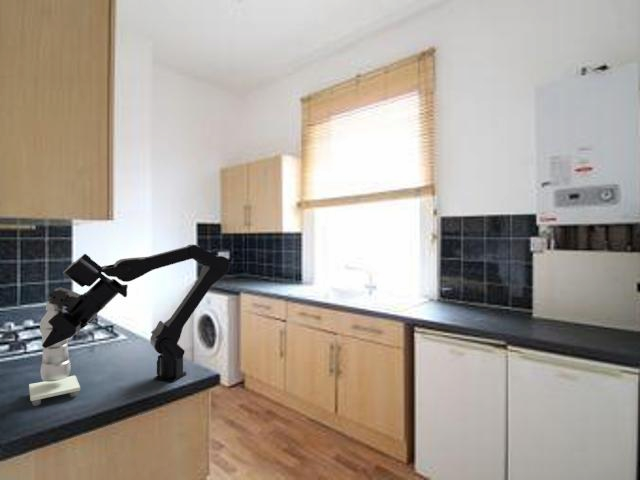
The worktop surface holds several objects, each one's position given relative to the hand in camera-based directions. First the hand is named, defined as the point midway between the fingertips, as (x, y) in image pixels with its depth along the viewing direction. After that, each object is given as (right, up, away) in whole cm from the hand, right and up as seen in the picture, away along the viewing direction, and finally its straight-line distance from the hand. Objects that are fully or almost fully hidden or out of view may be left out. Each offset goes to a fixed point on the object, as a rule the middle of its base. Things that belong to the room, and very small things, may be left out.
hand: (49, 343), depth 96 cm
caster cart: (+1, -13, 0) cm, 13 cm away
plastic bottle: (+1, -10, +1) cm, 10 cm away
